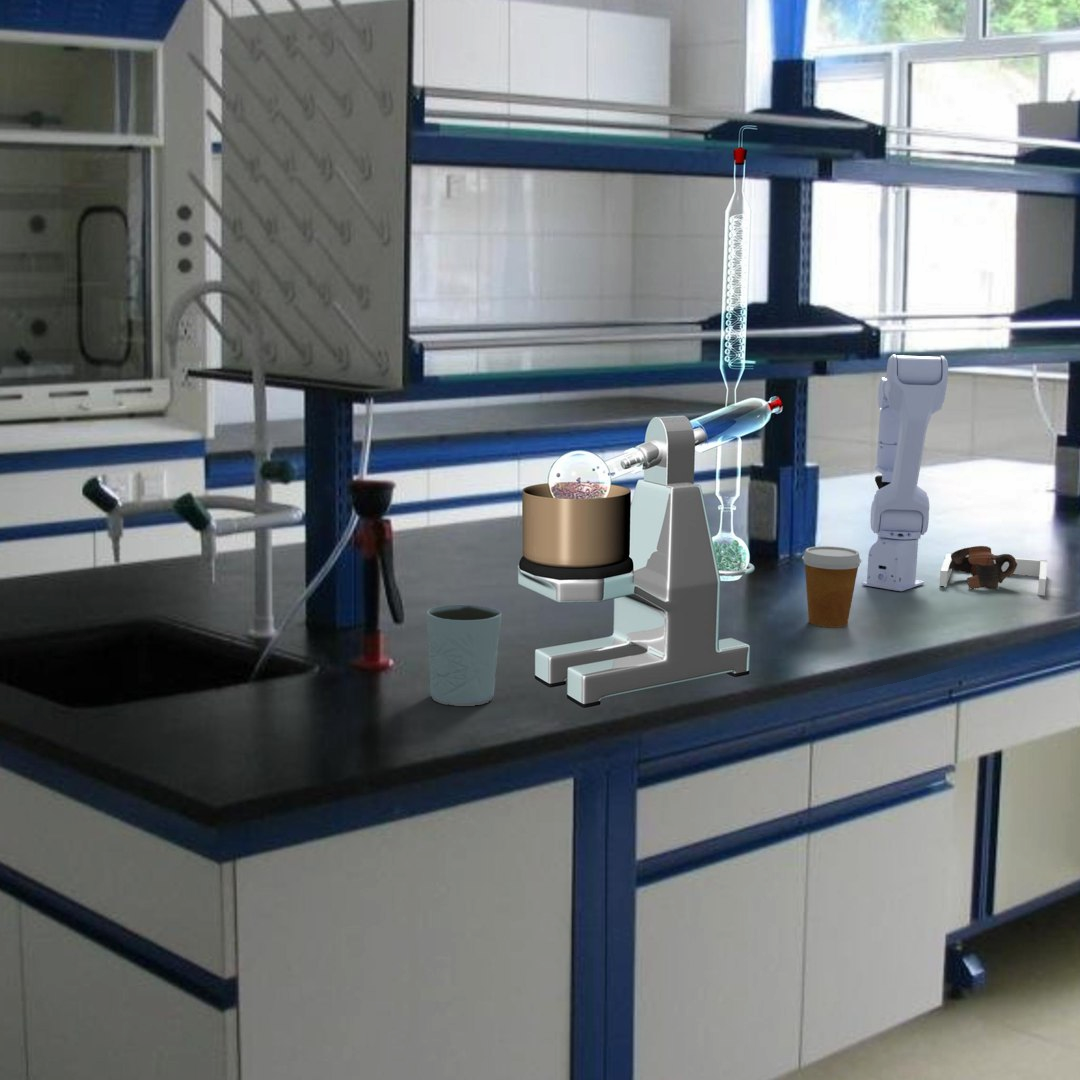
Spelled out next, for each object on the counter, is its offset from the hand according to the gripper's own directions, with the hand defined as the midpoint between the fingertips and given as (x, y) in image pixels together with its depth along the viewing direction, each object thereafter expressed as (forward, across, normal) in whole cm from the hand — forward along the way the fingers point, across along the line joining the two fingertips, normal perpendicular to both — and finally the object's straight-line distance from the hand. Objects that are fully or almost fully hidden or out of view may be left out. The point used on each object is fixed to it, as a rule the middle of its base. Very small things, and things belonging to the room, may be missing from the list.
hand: (888, 514), depth 336 cm
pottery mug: (+10, -8, -18) cm, 22 cm away
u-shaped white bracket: (+10, -4, -20) cm, 23 cm away
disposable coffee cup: (+10, -50, +4) cm, 51 cm away
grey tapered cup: (+9, -115, +45) cm, 124 cm away
